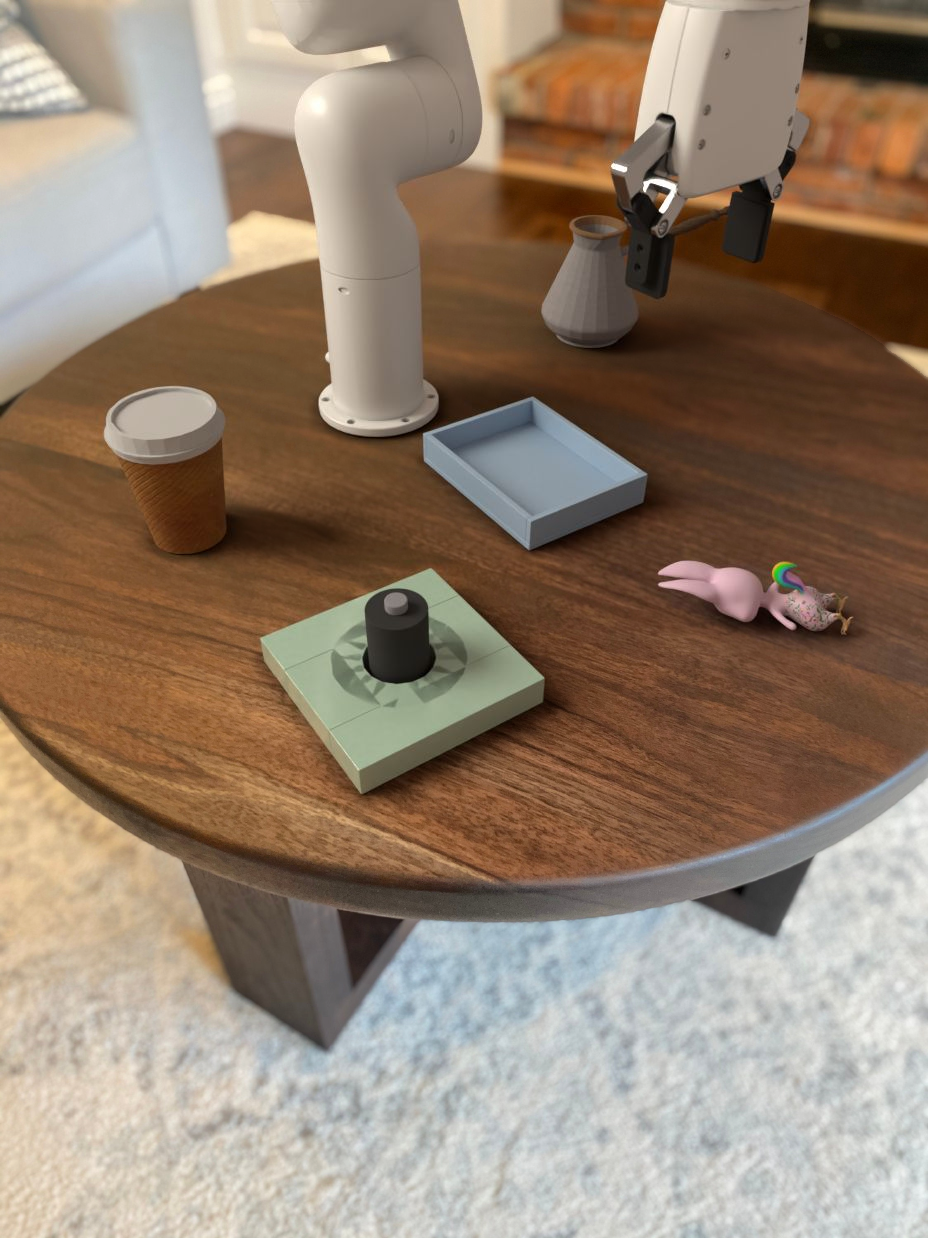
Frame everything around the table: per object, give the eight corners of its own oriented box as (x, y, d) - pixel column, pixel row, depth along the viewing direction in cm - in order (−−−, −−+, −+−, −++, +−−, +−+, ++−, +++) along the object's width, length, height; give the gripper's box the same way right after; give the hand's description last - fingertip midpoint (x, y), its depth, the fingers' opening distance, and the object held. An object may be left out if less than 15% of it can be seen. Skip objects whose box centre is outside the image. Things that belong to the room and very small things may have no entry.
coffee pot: (543, 355, 109) (552, 222, 99) (536, 313, 117) (544, 187, 107) (726, 355, 109) (754, 223, 99) (706, 313, 118) (730, 187, 108)
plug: (359, 675, 70) (351, 593, 65) (410, 653, 72) (406, 571, 66) (390, 712, 67) (384, 629, 62) (441, 687, 69) (440, 605, 64)
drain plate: (264, 661, 71) (259, 637, 69) (431, 591, 77) (431, 567, 76) (361, 795, 62) (358, 770, 60) (543, 702, 68) (545, 678, 66)
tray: (423, 461, 92) (422, 433, 90) (531, 423, 97) (533, 396, 95) (529, 550, 81) (530, 521, 79) (643, 502, 87) (648, 474, 85)
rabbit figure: (828, 610, 78) (651, 570, 78) (860, 555, 74) (674, 512, 74) (839, 662, 73) (651, 620, 73) (875, 607, 69) (676, 561, 69)
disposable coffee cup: (191, 580, 78) (161, 455, 70) (111, 542, 82) (73, 420, 74) (267, 523, 84) (247, 402, 76) (189, 490, 88) (162, 372, 80)
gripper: (787, -51, 58) (733, 230, 70) (586, -26, 50) (563, 287, 62) (894, -37, 54) (818, 260, 65) (693, -7, 46) (647, 326, 57)
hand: (694, 273), depth 64 cm, fingers open, 9 cm apart
